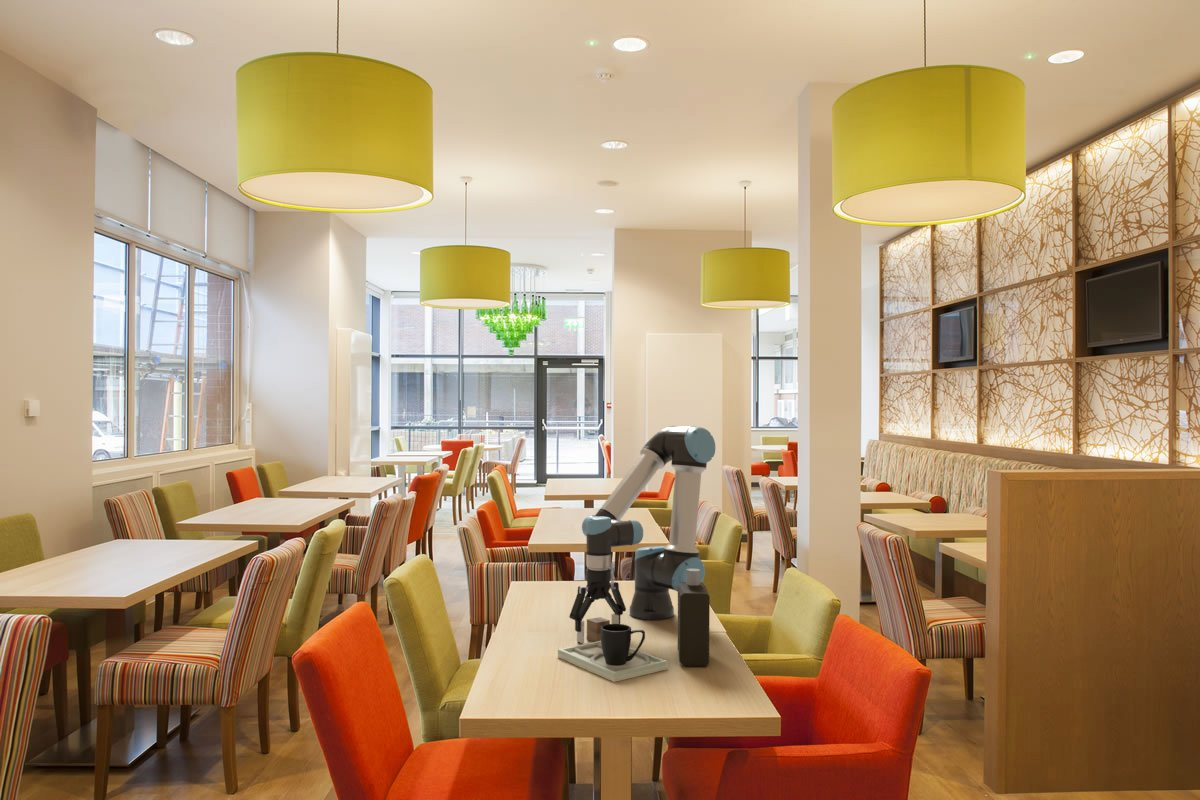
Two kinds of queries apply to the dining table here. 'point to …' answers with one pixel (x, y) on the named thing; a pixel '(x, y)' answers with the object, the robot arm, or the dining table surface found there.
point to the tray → (595, 662)
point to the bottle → (693, 621)
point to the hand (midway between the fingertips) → (598, 638)
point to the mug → (618, 643)
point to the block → (595, 628)
